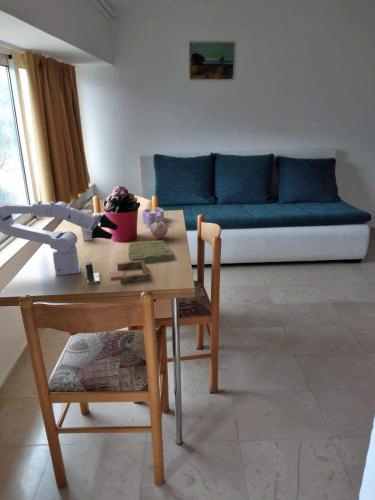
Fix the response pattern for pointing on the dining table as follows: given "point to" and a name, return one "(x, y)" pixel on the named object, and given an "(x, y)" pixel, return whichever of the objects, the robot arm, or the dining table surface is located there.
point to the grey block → (92, 274)
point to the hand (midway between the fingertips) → (114, 232)
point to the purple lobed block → (152, 216)
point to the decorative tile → (149, 251)
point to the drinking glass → (86, 237)
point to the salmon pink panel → (116, 275)
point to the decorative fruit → (159, 229)
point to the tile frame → (136, 277)
